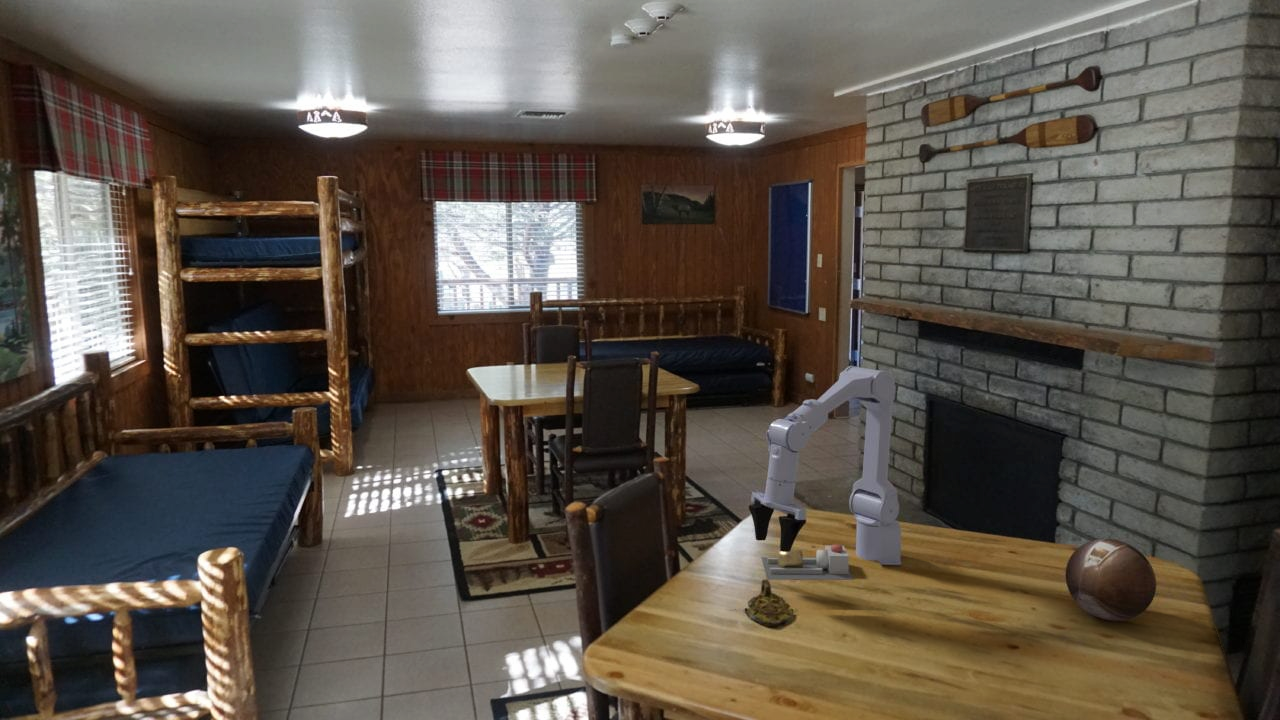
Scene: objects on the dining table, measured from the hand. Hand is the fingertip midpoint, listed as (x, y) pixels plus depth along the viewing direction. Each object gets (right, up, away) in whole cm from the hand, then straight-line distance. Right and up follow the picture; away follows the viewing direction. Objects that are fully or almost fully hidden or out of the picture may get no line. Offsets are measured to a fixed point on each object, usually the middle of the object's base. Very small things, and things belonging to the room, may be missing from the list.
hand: (772, 545), depth 171 cm
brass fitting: (+6, -8, +12) cm, 16 cm away
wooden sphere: (+62, -12, -10) cm, 64 cm away
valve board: (+9, -9, +12) cm, 18 cm away
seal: (-2, -12, -6) cm, 13 cm away
